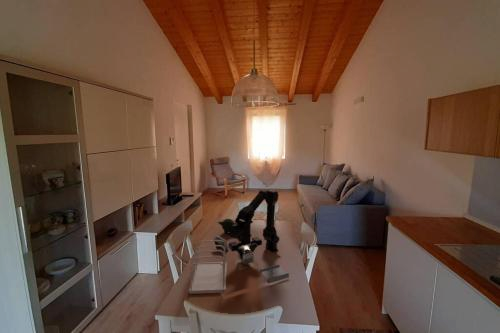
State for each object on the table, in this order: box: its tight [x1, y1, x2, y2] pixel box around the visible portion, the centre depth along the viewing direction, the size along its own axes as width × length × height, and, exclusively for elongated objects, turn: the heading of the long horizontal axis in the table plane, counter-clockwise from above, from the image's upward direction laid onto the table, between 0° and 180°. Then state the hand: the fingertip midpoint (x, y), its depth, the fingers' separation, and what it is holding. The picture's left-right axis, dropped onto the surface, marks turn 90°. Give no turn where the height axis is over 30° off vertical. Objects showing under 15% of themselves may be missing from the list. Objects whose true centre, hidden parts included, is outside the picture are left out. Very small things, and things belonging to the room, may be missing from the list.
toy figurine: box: [217, 218, 237, 235], centre depth 183 cm, size 9×19×25 cm
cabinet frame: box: [259, 263, 290, 284], centre depth 131 cm, size 12×10×2 cm
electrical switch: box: [213, 235, 230, 252], centre depth 156 cm, size 9×5×9 cm, turn 44°
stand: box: [232, 258, 259, 271], centre depth 140 cm, size 12×10×2 cm
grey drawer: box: [237, 245, 254, 264], centre depth 139 cm, size 6×9×7 cm, turn 25°
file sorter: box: [188, 239, 228, 295], centre depth 127 cm, size 25×17×16 cm
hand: (245, 257), depth 139 cm, fingers closed on grey drawer, 5 cm apart
